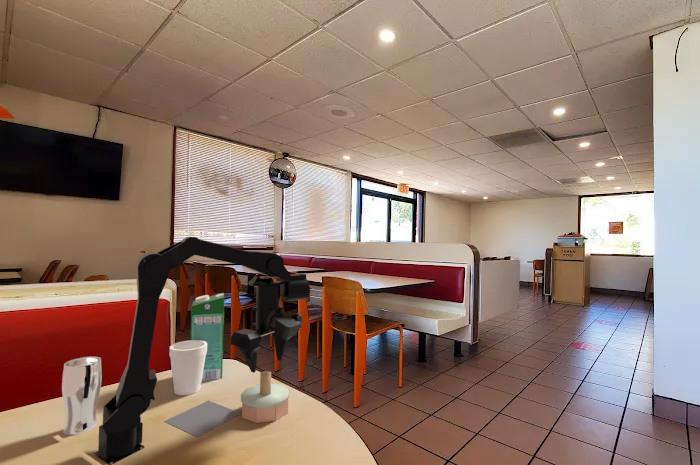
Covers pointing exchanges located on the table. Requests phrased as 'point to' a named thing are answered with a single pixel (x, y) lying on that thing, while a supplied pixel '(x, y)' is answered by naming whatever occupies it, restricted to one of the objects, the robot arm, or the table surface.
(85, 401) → the beer glass
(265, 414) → the bowl
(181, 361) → the foam cup
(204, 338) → the milk carton
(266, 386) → the lid
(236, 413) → the mat
